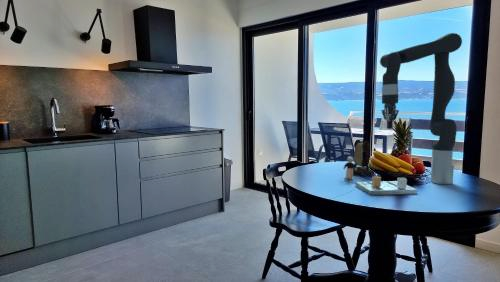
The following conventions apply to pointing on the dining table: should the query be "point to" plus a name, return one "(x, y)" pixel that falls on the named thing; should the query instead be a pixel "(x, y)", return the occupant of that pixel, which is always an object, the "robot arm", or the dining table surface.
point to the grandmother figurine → (349, 168)
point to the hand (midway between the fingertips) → (389, 128)
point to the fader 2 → (401, 183)
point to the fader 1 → (376, 181)
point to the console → (384, 188)
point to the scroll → (358, 157)
